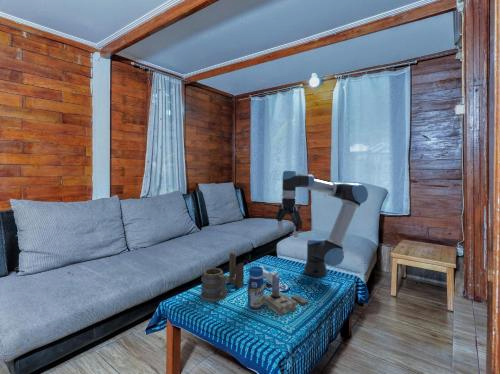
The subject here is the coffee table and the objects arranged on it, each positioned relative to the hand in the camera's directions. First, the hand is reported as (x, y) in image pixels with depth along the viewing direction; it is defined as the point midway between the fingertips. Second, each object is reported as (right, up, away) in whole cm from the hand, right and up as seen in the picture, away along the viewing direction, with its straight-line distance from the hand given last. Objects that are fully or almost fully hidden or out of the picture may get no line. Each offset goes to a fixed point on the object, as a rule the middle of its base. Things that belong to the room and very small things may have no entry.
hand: (287, 234), depth 157 cm
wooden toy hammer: (-31, -31, +6) cm, 44 cm away
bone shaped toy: (-12, -31, +12) cm, 35 cm away
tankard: (-40, -32, -13) cm, 53 cm away
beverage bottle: (-19, -33, -21) cm, 44 cm away
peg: (-9, -33, -16) cm, 38 cm away
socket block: (-7, -33, -19) cm, 39 cm away
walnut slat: (+4, -33, -14) cm, 36 cm away
